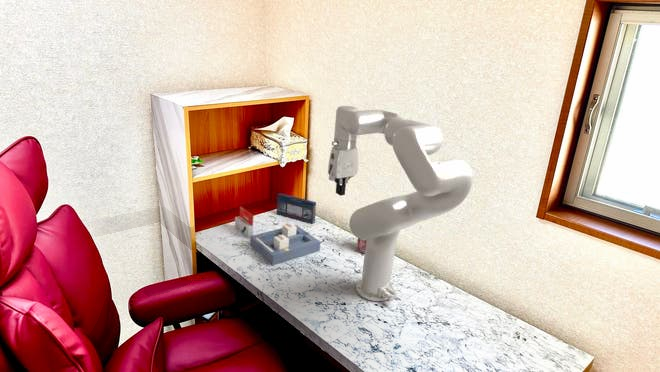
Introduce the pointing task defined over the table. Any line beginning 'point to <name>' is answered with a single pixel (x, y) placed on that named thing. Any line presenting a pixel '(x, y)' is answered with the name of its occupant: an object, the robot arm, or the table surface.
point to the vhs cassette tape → (296, 208)
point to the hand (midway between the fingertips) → (340, 194)
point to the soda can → (361, 245)
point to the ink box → (244, 223)
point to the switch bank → (297, 248)
